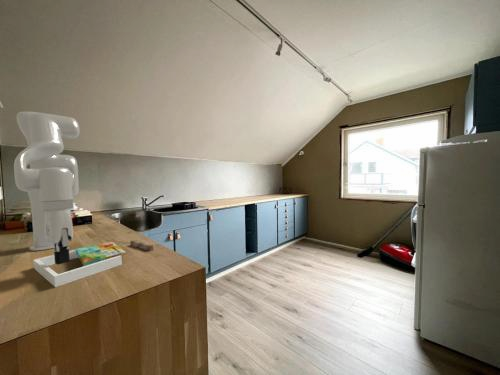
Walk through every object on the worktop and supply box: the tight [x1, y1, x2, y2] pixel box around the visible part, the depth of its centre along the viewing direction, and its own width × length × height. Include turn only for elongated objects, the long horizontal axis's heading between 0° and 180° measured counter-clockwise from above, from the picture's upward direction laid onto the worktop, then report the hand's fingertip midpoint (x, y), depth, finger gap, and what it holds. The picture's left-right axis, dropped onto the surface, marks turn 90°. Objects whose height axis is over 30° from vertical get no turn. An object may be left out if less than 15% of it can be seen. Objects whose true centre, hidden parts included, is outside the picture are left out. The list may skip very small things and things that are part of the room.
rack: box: [33, 249, 123, 288], centre depth 70 cm, size 24×17×3 cm
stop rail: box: [129, 239, 154, 252], centre depth 87 cm, size 16×1×2 cm, turn 56°
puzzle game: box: [75, 241, 127, 267], centre depth 75 cm, size 12×5×20 cm
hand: (62, 262), depth 66 cm, fingers closed
